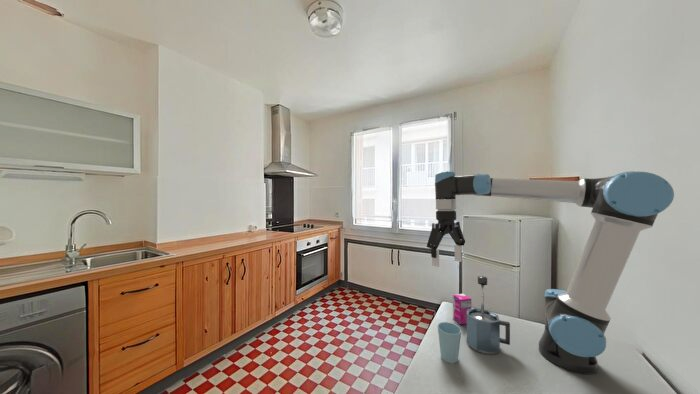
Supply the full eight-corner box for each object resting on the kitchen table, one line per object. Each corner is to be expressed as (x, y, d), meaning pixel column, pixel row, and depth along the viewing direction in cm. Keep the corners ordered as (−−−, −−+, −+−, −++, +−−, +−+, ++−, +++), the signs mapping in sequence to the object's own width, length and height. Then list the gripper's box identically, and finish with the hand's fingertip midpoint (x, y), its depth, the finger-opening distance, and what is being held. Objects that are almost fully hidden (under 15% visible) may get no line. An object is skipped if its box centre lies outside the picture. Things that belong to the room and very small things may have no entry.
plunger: (494, 317, 90) (494, 275, 91) (496, 327, 83) (496, 282, 83) (469, 312, 94) (469, 272, 94) (470, 322, 86) (470, 279, 87)
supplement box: (452, 318, 108) (452, 294, 108) (463, 317, 109) (463, 293, 109) (460, 325, 102) (460, 299, 102) (472, 324, 103) (472, 298, 104)
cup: (466, 361, 79) (466, 330, 80) (450, 368, 76) (449, 336, 76) (448, 348, 86) (448, 320, 86) (433, 354, 83) (433, 324, 83)
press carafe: (507, 343, 89) (507, 313, 90) (512, 361, 80) (512, 327, 80) (466, 334, 95) (466, 306, 96) (466, 349, 86) (466, 318, 86)
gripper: (457, 209, 103) (458, 257, 102) (416, 211, 91) (417, 266, 90) (473, 209, 96) (475, 261, 96) (431, 211, 84) (433, 270, 83)
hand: (447, 263), depth 93 cm, fingers open, 13 cm apart
